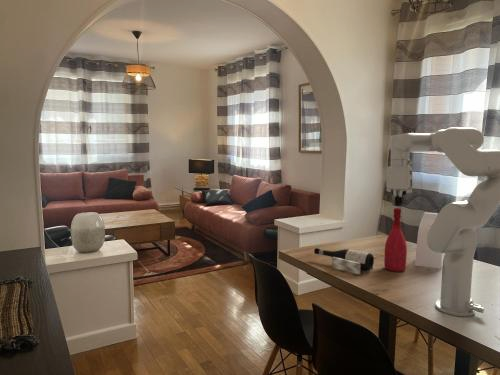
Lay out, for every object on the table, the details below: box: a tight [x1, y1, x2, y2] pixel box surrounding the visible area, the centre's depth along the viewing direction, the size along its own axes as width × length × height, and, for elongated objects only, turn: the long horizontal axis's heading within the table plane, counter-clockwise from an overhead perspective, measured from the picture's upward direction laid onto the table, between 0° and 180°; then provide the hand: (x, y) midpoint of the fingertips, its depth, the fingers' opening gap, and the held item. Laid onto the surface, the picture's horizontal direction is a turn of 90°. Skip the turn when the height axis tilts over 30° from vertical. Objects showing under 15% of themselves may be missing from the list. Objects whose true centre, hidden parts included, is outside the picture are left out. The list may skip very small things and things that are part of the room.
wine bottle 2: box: [383, 207, 408, 273], centre depth 180 cm, size 10×10×30 cm
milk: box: [414, 212, 443, 270], centre depth 188 cm, size 12×12×26 cm
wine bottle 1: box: [313, 247, 375, 271], centre depth 186 cm, size 8×8×30 cm
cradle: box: [331, 257, 374, 277], centre depth 181 cm, size 14×14×6 cm
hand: (398, 205), depth 163 cm, fingers closed
